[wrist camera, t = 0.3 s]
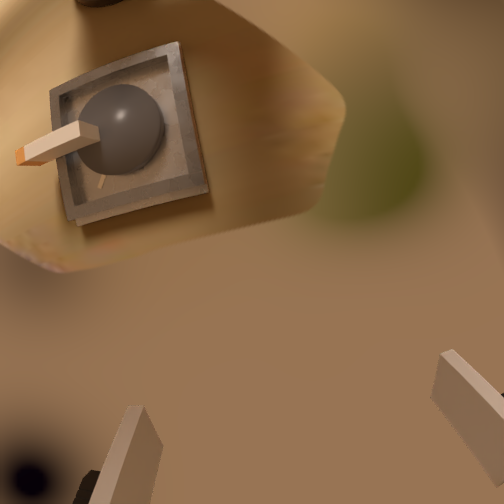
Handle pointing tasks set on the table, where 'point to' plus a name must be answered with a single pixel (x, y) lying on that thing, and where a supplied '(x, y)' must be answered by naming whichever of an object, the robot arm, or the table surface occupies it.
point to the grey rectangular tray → (163, 162)
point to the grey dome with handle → (105, 133)
